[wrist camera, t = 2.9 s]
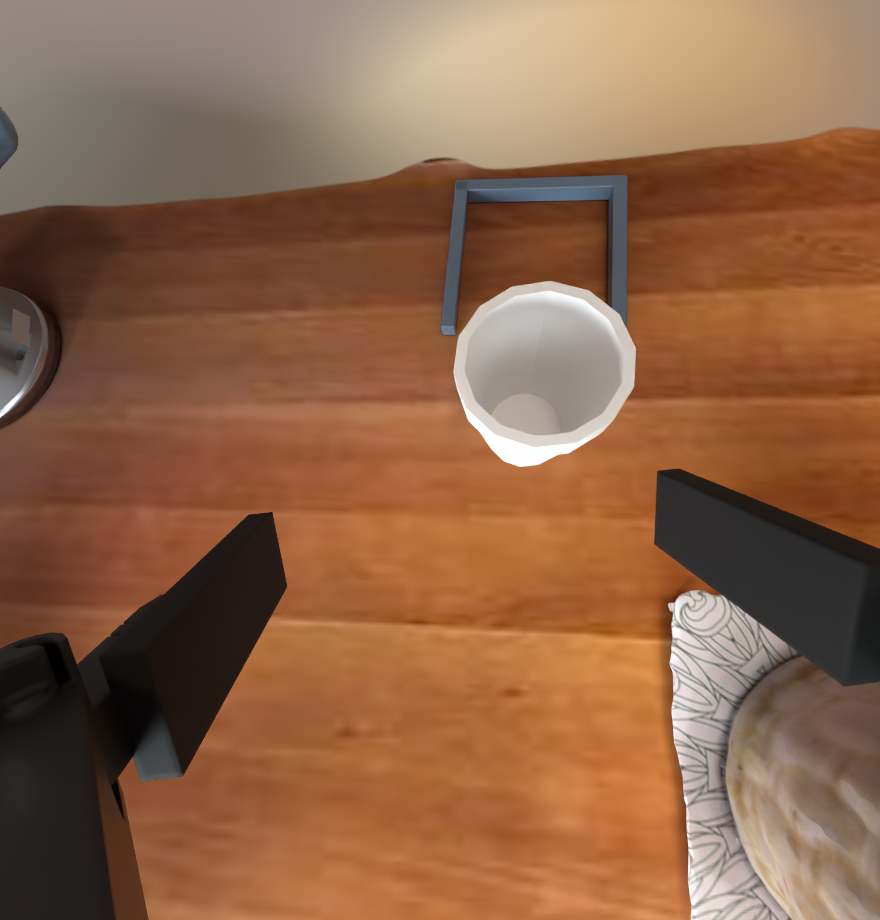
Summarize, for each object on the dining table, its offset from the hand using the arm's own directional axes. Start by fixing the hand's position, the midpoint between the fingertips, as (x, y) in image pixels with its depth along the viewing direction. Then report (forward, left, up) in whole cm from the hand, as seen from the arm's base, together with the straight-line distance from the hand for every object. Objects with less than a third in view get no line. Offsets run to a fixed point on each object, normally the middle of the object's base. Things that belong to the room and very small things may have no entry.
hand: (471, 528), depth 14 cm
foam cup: (-5, +8, -20) cm, 22 cm away
